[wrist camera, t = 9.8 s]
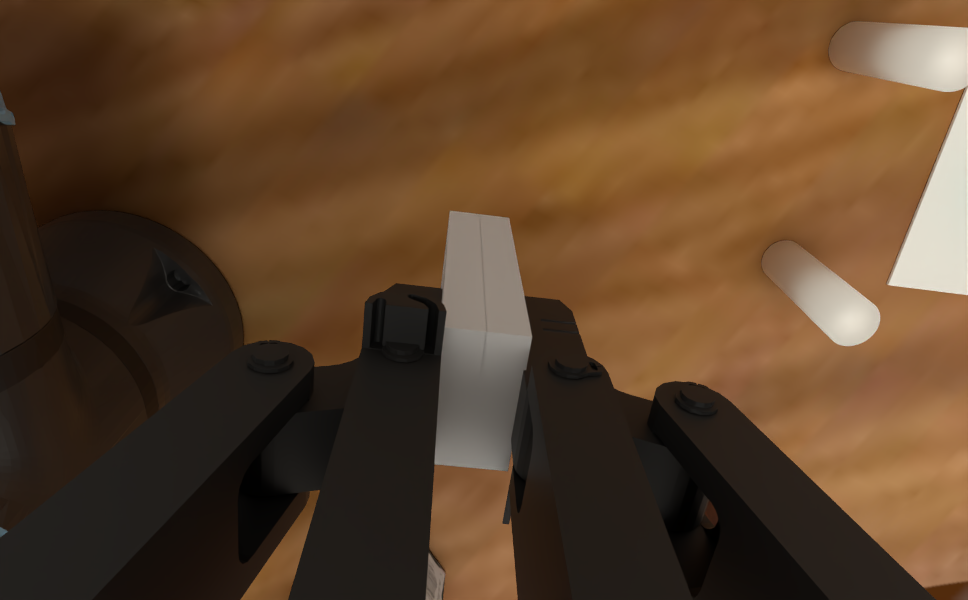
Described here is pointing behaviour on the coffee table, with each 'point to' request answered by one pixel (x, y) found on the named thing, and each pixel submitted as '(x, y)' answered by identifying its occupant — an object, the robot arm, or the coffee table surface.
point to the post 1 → (821, 294)
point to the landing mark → (940, 220)
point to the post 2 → (903, 53)
